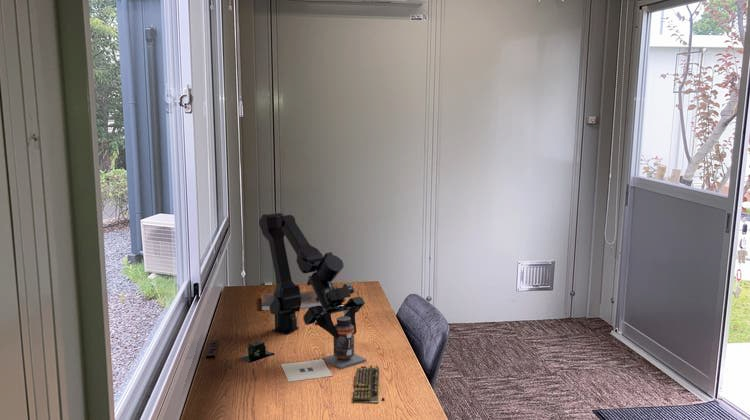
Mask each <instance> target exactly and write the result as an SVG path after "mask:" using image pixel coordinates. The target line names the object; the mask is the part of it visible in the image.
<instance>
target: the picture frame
mask: <svg viewBox="0 0 750 420" xmlns="http://www.w3.org/2000/svg"><path fill="white" fill-rule="evenodd" d="M300 294H301V298H302V301H301V306H300V309H309V308H310V307H314V306H319V305H320V306H321V304H320V302H317V301H316V298H317V295H316V293H315V291H314V290H309V291H300ZM260 299H261V300H262V301H261V310H264V311H270V305H271V304H272V302H273V301H274V292H273V293H261V295H260Z"/></svg>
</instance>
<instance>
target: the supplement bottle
mask: <svg viewBox="0 0 750 420" xmlns="http://www.w3.org/2000/svg"><path fill="white" fill-rule="evenodd" d="M334 326H335V328H336V330H337V332H338V335H339V338H338V339H336V338H335V337H334V336H333V354H334V356H335V357H337V358H340V359H348V358H351V357H353V355H354V354H355V334H354V326H353V325H352V324H351V318H350V317H347V316H344V315H343V316H342V315H341V316H338V317H336V324H334Z"/></svg>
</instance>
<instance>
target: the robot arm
mask: <svg viewBox="0 0 750 420" xmlns="http://www.w3.org/2000/svg"><path fill="white" fill-rule="evenodd" d="M258 224H259V228H260V230H261V233H262V235H263V236H264V239H266V240H267V241H268V244H269V249H270V254H271V255H270V256H271V258H272V259H271V260H272V265H273V270H274V275H275V280H276V286H275V289H274V291H273V293H274V301H273V302H272V304H271V305H270V310H269V312H270V314H272V315H274V328H272V330H271V331H272V332H275V333H279V334H286V335H289V334H292V333H294V332H295V331H297V330H298V329H299V326H298V317H297V315H296V312H300V309H301V308H300V306H301V301H302V298H301V294H300V292H301V289H300V286H299V285H298V284H295V283H294V282H293V280H292V275H291V270H290V264H289V259H288V254H287V249H286V244H285V237H286V239H287V240H288V241H287V242H288V243H289V244H290V246H291V247H292V248H293V250H294V252H295V254H296V263H297V265H298V269H299V270H300V272H301V273H302V274H311V273H312V274H311V275H309V276H308V280H307V282H306V283H307V286H312V287H311V288H312V289H313V291H315V293H316V295H317V298H316V301H317V302H320V304H321V306H320V305H319V306H314V307H310V308H307V311H305V313H304V315H303V322H304V324H305V325H306V326H309V325H311V324H314V325H315V326H319V327H320V328H322V329H323V330H325V331H326V332H328V333H329V334H330V335H331V336H332V337H333V338H334V337H335V338H336V339H338V338H339V335H338V332H337V330H336V328H335V324H334V322H333V320H332V315H333V314H336V313H340V312H342V313H343V316H347V317H350V318H351V324H352V325H353V326H354V335H356V333H357V324H356V313H358V312H359V311H360V310H361V309H362V307H363V306H364V305H365V304H366V302H365V300H364V298H363V297H362V296H355V297H351V295H352V294H354V292H355V289H354V288H355V287H354V286H353V284H352V283H351V282H346V283H345V284H343V285H342V287H338V286H337V285H335V286H334V284H333V282H332V281H334V280H335V279H336V278H337V277H338V275H339V274H340V273H341V271H342V270H343V268H344V262H343V259H341V258H340V257H338V256H337V255H334V254H333V252H332V251H329V252H325V254H324V255H323V254H322V252H321V251H320V250H319V249H318V248H316V247H315V246H312V245H311V243H310V242H308V239H307V238H306V237H305V236H306V235H304V234H303V232H302V230H301V229H300V227H299V225H298V224H297V222H296V218H295V216H294V215H292V214H283V213H282V212H275V213H274V212H273V213H264V214H262V215H261V217H260V218H259V220H258ZM346 298H349V299H348V301H347V302H346V303H344V302H345V301H346Z"/></svg>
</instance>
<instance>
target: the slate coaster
mask: <svg viewBox="0 0 750 420" xmlns="http://www.w3.org/2000/svg"><path fill="white" fill-rule="evenodd" d="M322 359H323V361H324V362H326V363H329V364H330V365H332V366H334V367H337V368H338V369H340V370H342V369H345V368H349V367H353V366H355V365H358V364H362V363H365V362H367V359H366V358H365V357H363V356H361V355H359V354H357V353H354V355H353V357H351V358H348V359H340V358H337V357H335V356H334V353H333V354H330V355H327V356H323V357H322Z"/></svg>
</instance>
